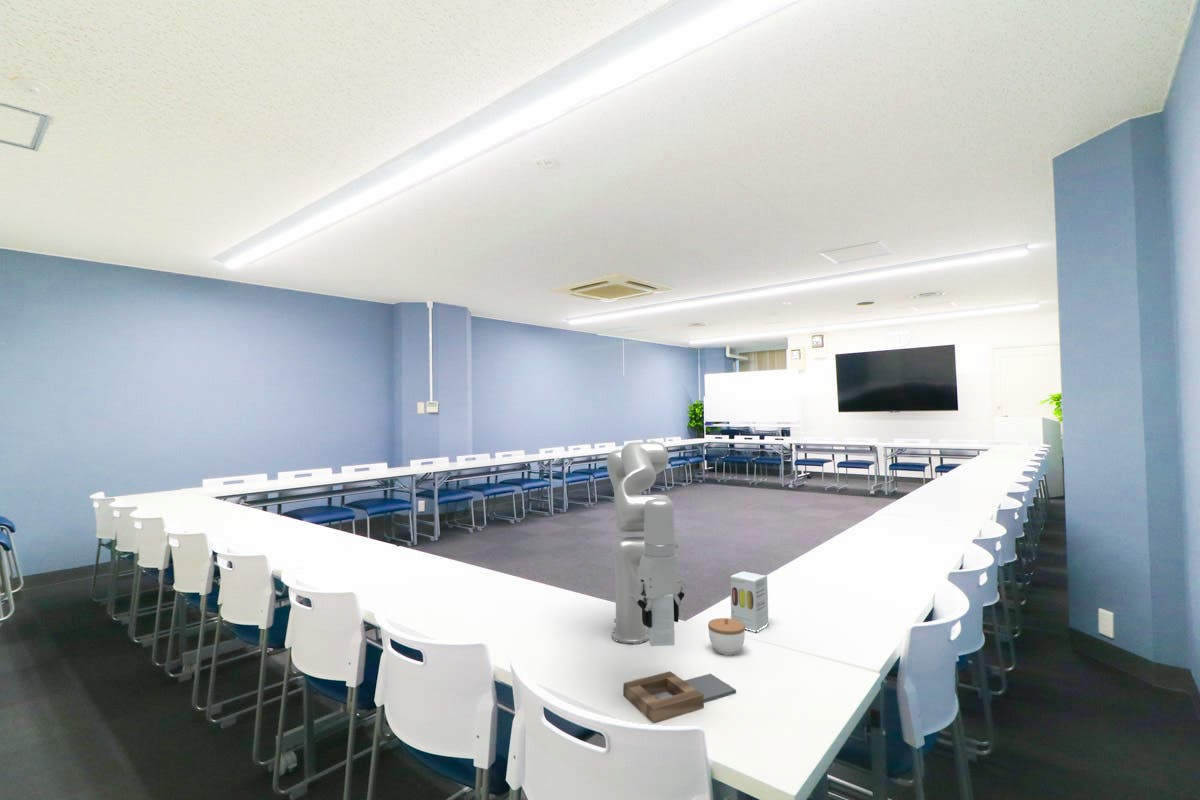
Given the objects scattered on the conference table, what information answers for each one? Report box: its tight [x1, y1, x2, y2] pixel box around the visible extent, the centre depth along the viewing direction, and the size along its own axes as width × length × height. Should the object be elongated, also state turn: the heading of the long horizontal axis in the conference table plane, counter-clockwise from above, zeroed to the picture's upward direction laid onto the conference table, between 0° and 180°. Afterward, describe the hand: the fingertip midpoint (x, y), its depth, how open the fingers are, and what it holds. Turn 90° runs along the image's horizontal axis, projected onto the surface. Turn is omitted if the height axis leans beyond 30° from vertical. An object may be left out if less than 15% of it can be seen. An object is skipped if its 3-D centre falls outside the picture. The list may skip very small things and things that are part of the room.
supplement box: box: [730, 570, 769, 631], centre depth 174 cm, size 10×9×17 cm
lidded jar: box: [707, 617, 746, 656], centre depth 154 cm, size 11×11×9 cm
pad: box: [683, 673, 737, 703], centre depth 130 cm, size 10×10×1 cm
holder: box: [622, 670, 705, 724], centre depth 125 cm, size 14×14×3 cm
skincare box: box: [647, 594, 676, 647], centre depth 126 cm, size 6×4×12 cm
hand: (660, 622), depth 126 cm, fingers closed on skincare box, 7 cm apart
